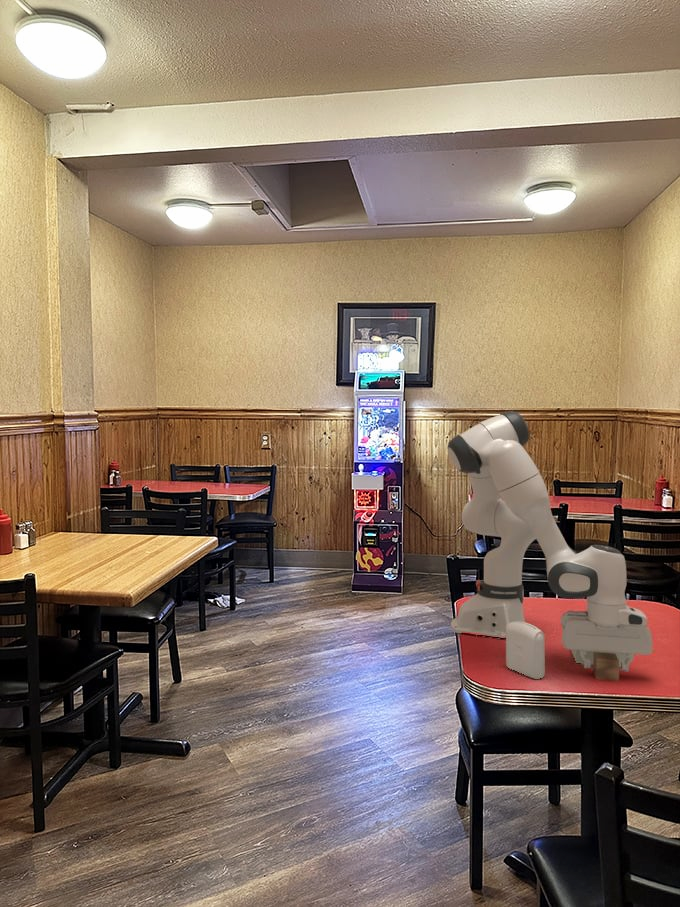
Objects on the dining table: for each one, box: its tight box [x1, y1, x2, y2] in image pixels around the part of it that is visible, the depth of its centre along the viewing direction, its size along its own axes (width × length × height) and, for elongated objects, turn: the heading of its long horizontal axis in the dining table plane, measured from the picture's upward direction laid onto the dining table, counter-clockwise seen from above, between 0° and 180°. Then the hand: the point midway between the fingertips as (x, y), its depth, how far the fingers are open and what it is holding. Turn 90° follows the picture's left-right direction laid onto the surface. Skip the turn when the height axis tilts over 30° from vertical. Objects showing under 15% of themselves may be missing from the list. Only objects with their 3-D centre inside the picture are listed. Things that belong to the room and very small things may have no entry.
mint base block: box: [571, 650, 627, 668], centre depth 167 cm, size 12×12×4 cm
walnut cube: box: [592, 652, 620, 682], centre depth 154 cm, size 5×5×5 cm
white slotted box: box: [505, 621, 546, 680], centre depth 156 cm, size 10×4×12 cm, turn 32°
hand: (605, 669), depth 154 cm, fingers open, 7 cm apart
